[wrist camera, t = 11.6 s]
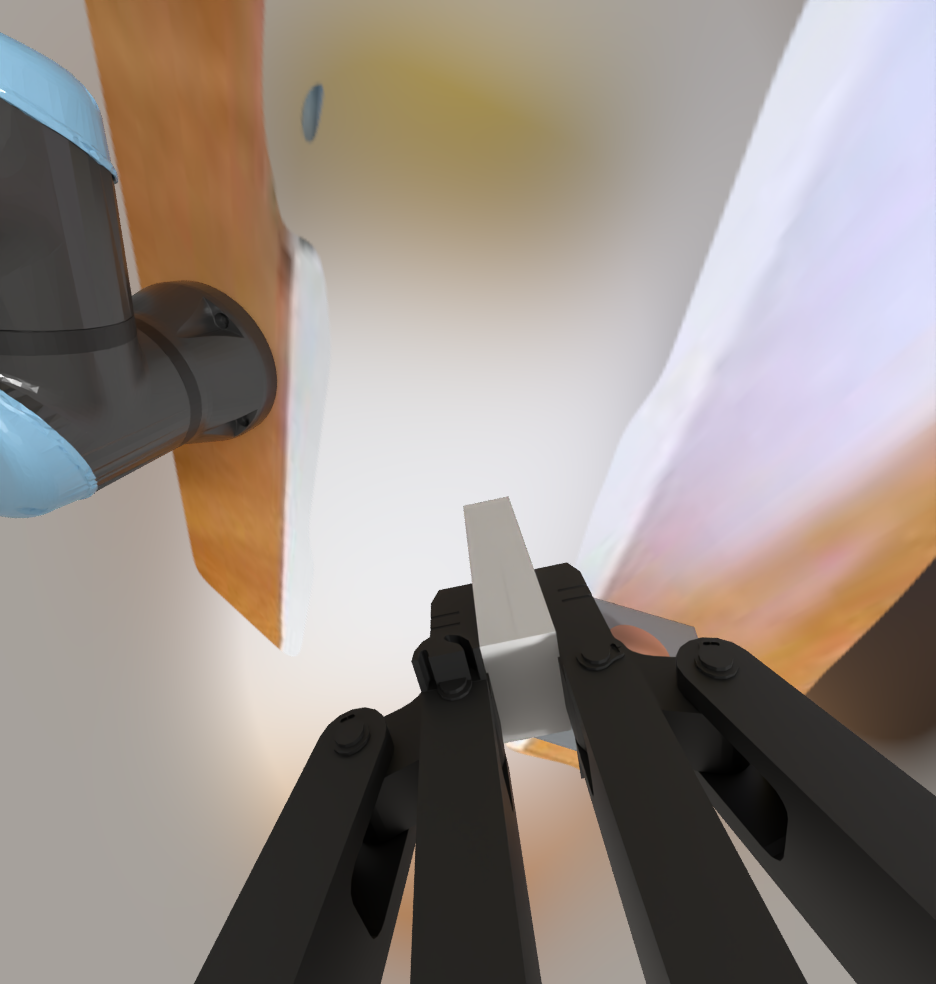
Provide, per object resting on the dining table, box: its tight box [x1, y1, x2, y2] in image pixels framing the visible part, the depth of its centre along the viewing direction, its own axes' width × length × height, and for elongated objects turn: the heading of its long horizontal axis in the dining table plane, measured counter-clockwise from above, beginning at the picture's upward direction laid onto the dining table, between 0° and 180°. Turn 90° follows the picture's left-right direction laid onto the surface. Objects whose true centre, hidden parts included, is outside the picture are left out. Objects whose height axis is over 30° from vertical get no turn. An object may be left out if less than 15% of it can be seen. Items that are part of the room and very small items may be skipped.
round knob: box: [610, 625, 670, 657], centre depth 46 cm, size 13×6×6 cm, turn 168°
